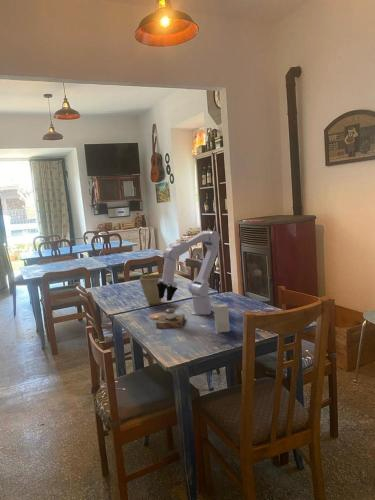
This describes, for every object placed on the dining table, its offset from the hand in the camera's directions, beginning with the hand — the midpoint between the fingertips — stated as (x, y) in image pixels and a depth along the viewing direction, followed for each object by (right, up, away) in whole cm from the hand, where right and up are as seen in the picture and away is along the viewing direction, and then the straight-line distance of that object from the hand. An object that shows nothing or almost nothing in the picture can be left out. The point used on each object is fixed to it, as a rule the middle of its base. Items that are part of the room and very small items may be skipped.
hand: (164, 299), depth 188 cm
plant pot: (-8, -7, +39) cm, 41 cm away
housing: (+3, -12, 0) cm, 12 cm away
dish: (-4, -11, +12) cm, 16 cm away
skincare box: (+27, -13, -16) cm, 34 cm away
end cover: (+3, -12, 0) cm, 12 cm away
